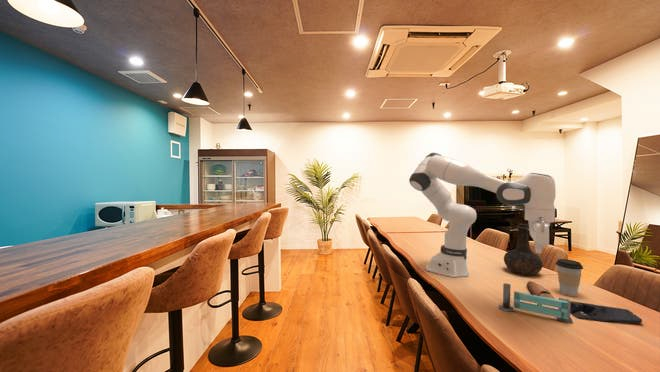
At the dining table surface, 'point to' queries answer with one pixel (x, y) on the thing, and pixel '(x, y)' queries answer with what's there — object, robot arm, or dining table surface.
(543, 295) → the sunglasses case
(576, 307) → the dark slate chunk
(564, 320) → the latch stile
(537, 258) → the dark brown vase
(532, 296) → the gate
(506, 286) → the hinge post
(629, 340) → the dining table surface
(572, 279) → the coffee cup
